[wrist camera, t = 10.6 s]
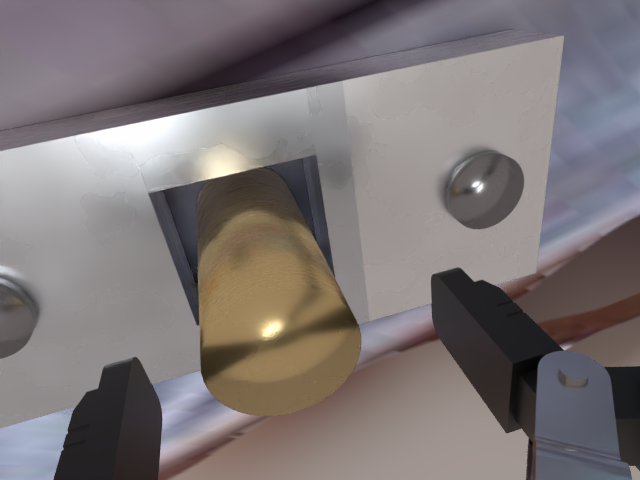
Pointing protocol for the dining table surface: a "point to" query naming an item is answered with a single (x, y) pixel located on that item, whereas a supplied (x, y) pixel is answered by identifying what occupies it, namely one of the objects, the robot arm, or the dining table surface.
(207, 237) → the brass pin
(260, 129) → the studded base plate
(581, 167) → the dining table surface
